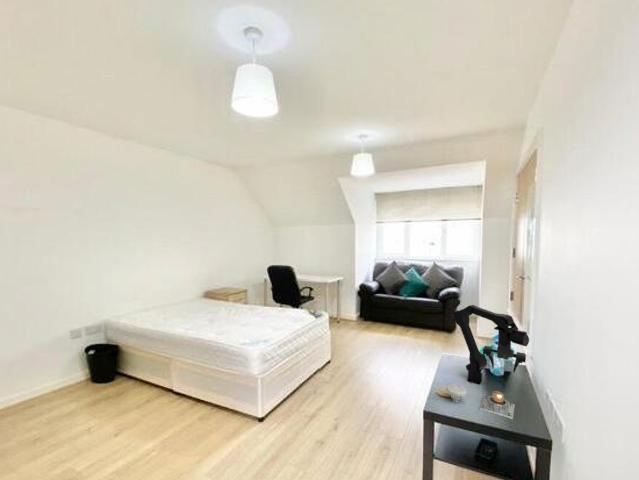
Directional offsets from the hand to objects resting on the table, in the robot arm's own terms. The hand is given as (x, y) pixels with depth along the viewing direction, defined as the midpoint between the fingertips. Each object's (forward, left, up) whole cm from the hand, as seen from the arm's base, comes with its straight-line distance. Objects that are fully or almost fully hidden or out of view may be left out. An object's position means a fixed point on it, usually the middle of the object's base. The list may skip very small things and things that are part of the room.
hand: (503, 370), depth 164 cm
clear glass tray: (-1, -17, -12) cm, 21 cm away
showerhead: (-18, -23, -12) cm, 32 cm away
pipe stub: (-1, -17, -11) cm, 20 cm away
